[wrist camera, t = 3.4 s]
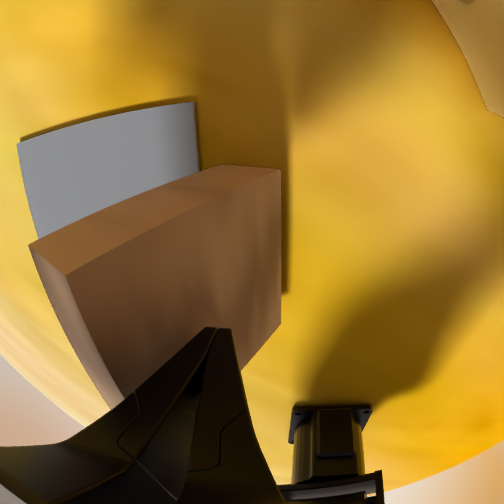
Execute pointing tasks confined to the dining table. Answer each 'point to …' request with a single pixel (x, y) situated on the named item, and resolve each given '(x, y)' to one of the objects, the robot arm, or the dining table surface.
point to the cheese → (480, 43)
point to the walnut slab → (167, 273)
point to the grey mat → (106, 162)
